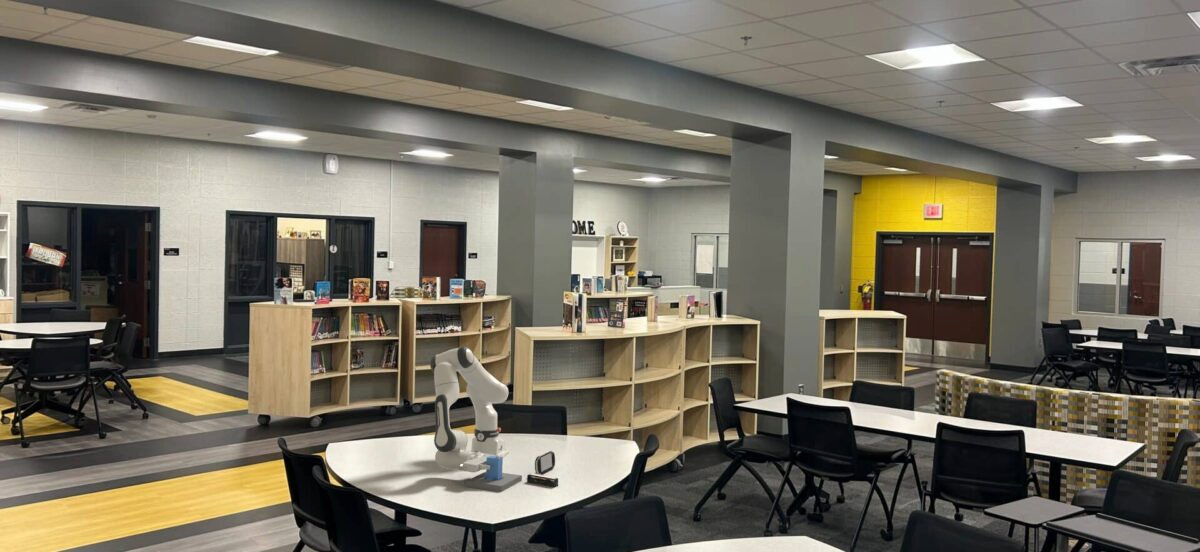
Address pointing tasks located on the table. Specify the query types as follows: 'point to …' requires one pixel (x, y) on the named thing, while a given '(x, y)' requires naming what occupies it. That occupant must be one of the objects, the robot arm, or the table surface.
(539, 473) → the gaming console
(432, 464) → the table surface
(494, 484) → the plate
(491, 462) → the blue rectangular block
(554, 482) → the black flat block
